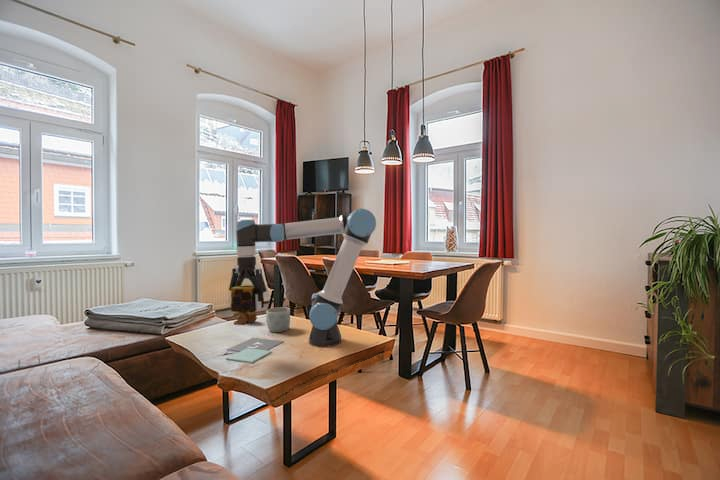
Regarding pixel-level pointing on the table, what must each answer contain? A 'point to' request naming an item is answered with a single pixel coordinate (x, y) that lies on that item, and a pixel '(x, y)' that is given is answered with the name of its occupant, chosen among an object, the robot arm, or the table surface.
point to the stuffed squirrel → (245, 317)
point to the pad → (249, 355)
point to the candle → (244, 299)
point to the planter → (278, 319)
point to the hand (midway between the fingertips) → (247, 308)
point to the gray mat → (256, 344)
